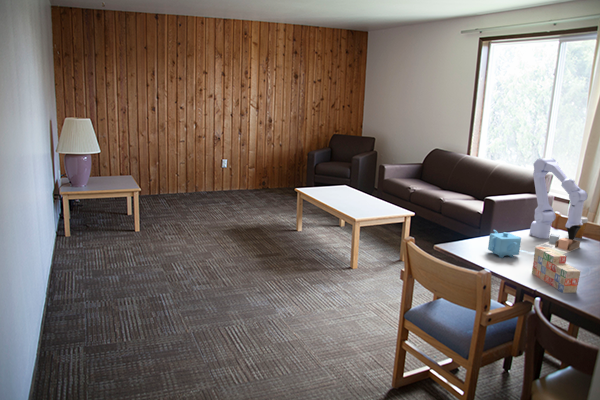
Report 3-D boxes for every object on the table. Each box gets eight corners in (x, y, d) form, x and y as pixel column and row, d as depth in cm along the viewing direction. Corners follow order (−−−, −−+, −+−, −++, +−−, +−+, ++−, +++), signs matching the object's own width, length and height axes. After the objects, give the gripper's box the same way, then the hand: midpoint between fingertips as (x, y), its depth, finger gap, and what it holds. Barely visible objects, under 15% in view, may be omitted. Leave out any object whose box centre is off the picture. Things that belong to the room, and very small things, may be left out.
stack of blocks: (577, 293, 190) (582, 263, 187) (562, 293, 189) (567, 264, 186) (544, 272, 211) (548, 246, 208) (531, 273, 210) (535, 246, 207)
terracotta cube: (557, 247, 242) (559, 239, 241) (561, 246, 245) (563, 237, 244) (567, 250, 239) (568, 241, 238) (571, 248, 242) (572, 240, 241)
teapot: (499, 261, 223) (502, 238, 220) (477, 249, 240) (480, 227, 237) (528, 260, 226) (532, 237, 223) (505, 247, 243) (508, 226, 241)
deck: (533, 248, 243) (533, 246, 243) (551, 242, 255) (552, 240, 255) (562, 256, 232) (562, 254, 232) (579, 249, 244) (580, 247, 244)
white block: (548, 242, 250) (549, 235, 249) (550, 241, 253) (551, 233, 252) (557, 244, 248) (558, 237, 247) (558, 242, 251) (559, 235, 250)
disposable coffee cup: (583, 237, 267) (587, 216, 264) (585, 241, 258) (589, 220, 256) (564, 234, 271) (568, 214, 268) (565, 238, 262) (569, 217, 259)
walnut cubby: (554, 247, 243) (555, 241, 243) (564, 243, 250) (565, 237, 249) (569, 251, 238) (570, 244, 237) (579, 247, 244) (580, 241, 244)
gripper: (577, 217, 234) (573, 243, 237) (589, 213, 243) (585, 238, 246) (562, 214, 240) (558, 239, 243) (575, 210, 249) (571, 235, 252)
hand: (571, 239), depth 245 cm, fingers closed
